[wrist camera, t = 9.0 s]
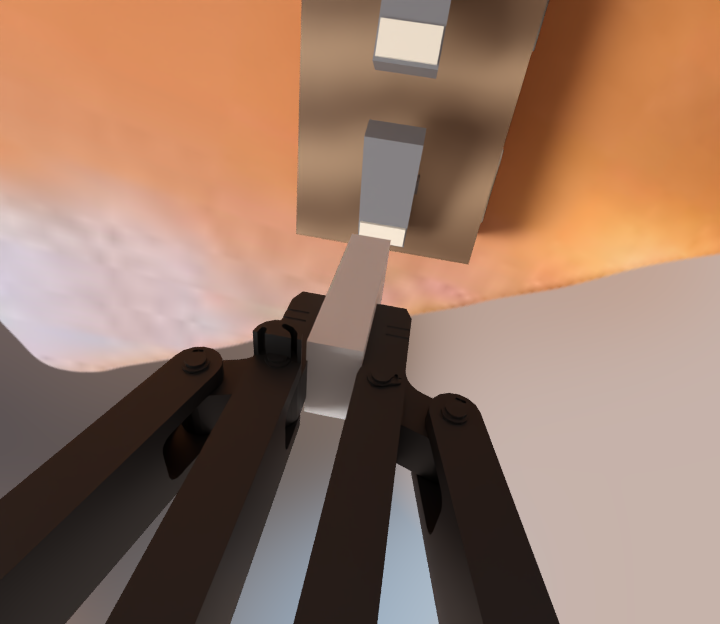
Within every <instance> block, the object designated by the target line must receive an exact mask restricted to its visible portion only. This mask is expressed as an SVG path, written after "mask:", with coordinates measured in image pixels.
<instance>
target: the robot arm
mask: <svg viewBox="0 0 720 624" xmlns="http://www.w3.org/2000/svg"><path fill="white" fill-rule="evenodd" d="M390 243H391V240H387V239H381V238H375V237H369V236H363V235H357V234H352V235H351V238H350V240H349V242H348V245H347V247H346V249H345V252H344V254H343V257H342V259H341V261H340V264H339V266H338V268H337V271H336V273H335V276H334V278H333V280H332V283H331V285H330V287H329V290H328V292H327V294H326V296H325V295H320V294H314V293H308V292H302V293H300V294H299V295H297V296H296V297H294V298H293V299H292V301H291V303H290V305H289V306H288V308H287V310H286V312H285V314H284V316H283V318H282V320H273V321H267V322H264V323H262V324H260V325H258V326H257V327H256V328H255V329H254V330H253V344H254V356H253V357H250V358H247V359H240V360H222V357H221V355H220V354H219V353H218V352H217V351H215V350H214V349H211V348H207V347H193V348H190V349H186V350H183V351H182V352H180V353H178V354H177V355H175V356H174V357H173V358H172V359H170V360H169V361H168V362H167V363H166V364H164V365H163V366H162V367H161V368H159V369H158V370H157V371H156V372H155V373H153V374H152V375H151V376H150V377H149V378H147V379H146V380H145V381H144V382H143V383H141V384H140V385H139V386H138V387H137V388H135V389H134V390H133V391H132V392H130V393H129V394H128V395H127V396H126V397H124V398H123V399H122V400H121V401H119V402H118V403H117V404H116V405H115V406H113V407H112V408H111V409H110V410H109V411H107V412H106V413H105V414H104V415H102V416H101V417H100V418H99V419H97V420H96V421H95V422H94V423H93V424H91V425H90V426H89V427H88V428H87V429H85V430H84V431H83V432H82V433H80V434H79V435H78V436H77V437H76V438H74V439H73V440H72V441H71V442H70V443H68V444H67V445H66V446H65V447H63V448H62V449H61V450H60V451H59V452H58V453H56V454H55V455H54V456H53V457H51V458H50V459H49V460H48V461H46V462H45V463H44V464H43V465H42V466H40V467H39V468H38V469H37V470H36V471H34V472H33V473H32V474H31V475H29V476H28V477H27V478H26V479H24V480H23V481H22V482H21V483H20V484H18V485H17V486H16V487H15V488H14V489H12V490H11V491H10V492H9V493H7V494H6V495H5V496H4V497H3V498H1V499H0V624H65V623H66V622H67V621H68V620H69V619H70V617H71V616H72V615H73V614H74V613H75V612H76V610H77V609H78V608H79V607H80V606H81V604H82V603H83V602H84V601H85V600H86V599H87V598H88V597H89V595H90V594H91V593H92V592H93V591H94V590H95V588H96V587H97V586H98V585H99V584H100V582H101V581H102V580H103V579H104V578H105V577H106V576H107V574H108V573H109V572H110V571H111V570H112V568H113V567H114V566H115V565H116V564H117V563H118V561H119V560H120V559H121V558H122V557H123V555H125V553H126V552H127V551H128V550H129V549H130V548H131V546H132V545H133V544H134V543H135V542H136V541H137V539H138V538H139V537H140V536H141V535H142V534H143V532H144V531H145V530H146V529H147V528H148V526H149V525H150V524H151V523H152V522H153V521H154V519H155V518H156V517H157V516H158V515H159V514H160V513H161V511H162V510H163V509H164V508H165V507H166V505H167V504H168V503H169V502H170V501H171V500H172V499H173V497H174V496H175V495H176V494H177V495H176V497H175V498H174V500H173V502H172V504H171V506H170V508H169V509H168V511H167V513H166V515H165V517H164V518H163V520H162V522H161V524H160V526H159V528H158V529H157V531H156V533H155V535H154V537H153V538H152V540H151V542H150V544H149V546H148V547H147V549H146V551H145V553H144V555H143V556H142V559H141V560H140V562H139V564H138V565H137V567H136V569H135V571H134V573H133V575H132V577H131V578H130V580H129V582H128V584H127V586H126V587H125V589H124V591H123V593H122V594H121V596H120V598H119V600H118V602H117V604H116V605H115V607H114V609H113V611H112V612H111V615H110V616H109V618H108V620H107V621H106V623H105V624H230V623H231V620H232V617H233V614H234V612H235V609H236V606H237V603H238V600H239V597H240V594H241V592H242V588H243V586H244V583H245V580H246V577H247V574H248V572H249V569H250V566H251V563H252V560H253V557H254V554H255V552H256V549H257V546H258V543H259V540H260V537H261V534H262V532H263V528H264V526H265V523H266V520H267V517H268V514H269V512H270V509H271V506H272V503H273V500H274V497H275V495H276V491H277V489H278V486H279V483H280V480H281V477H282V475H283V472H284V469H285V466H286V463H287V460H288V457H289V455H290V452H291V449H292V446H293V443H294V440H295V437H296V435H297V432H298V429H299V425H300V413H301V410H302V407H303V404H304V402H305V404H304V406H305V407H304V411H306V412H311V413H315V414H320V415H325V416H330V417H335V418H340V419H345V422H344V426H343V430H342V434H341V438H340V442H339V446H338V450H337V454H336V458H335V462H334V466H333V470H332V473H331V478H330V481H329V486H328V489H327V493H326V497H325V502H324V505H323V509H322V513H321V517H320V521H319V525H318V529H317V533H316V537H315V541H314V545H313V548H312V552H311V556H310V560H309V564H308V569H307V572H306V576H305V580H304V584H303V588H302V592H301V596H300V600H299V604H298V608H297V612H296V616H295V620H294V623H293V624H377V620H378V612H379V603H380V594H381V587H382V578H383V570H384V561H385V553H386V544H387V536H388V527H389V519H390V510H391V501H392V493H393V484H394V476H395V468H396V463H397V464H399V465H401V466H403V467H405V468H407V469H408V470H410V471H411V475H412V480H413V486H414V491H415V497H416V502H417V507H418V513H419V518H420V524H421V529H422V534H423V540H424V545H425V550H426V556H427V562H428V567H429V572H430V578H431V583H432V588H433V594H434V600H435V605H436V610H437V616H438V621H439V624H559V621H558V618H557V616H556V613H555V610H554V608H553V605H552V602H551V600H550V597H549V594H548V592H547V589H546V586H545V584H544V581H543V578H542V576H541V573H540V570H539V568H538V565H537V562H536V560H535V557H534V554H533V552H532V549H531V546H530V544H529V541H528V538H527V536H526V533H525V530H524V528H523V525H522V522H521V520H520V517H519V514H518V512H517V509H516V506H515V504H514V501H513V498H512V496H511V493H510V490H509V488H508V485H507V483H506V480H505V477H504V474H503V472H502V469H501V466H500V464H499V461H498V458H497V456H496V453H495V450H494V448H493V445H492V442H491V440H490V437H489V434H488V432H487V429H486V426H485V424H484V421H483V418H482V416H481V413H480V411H479V410H478V408H477V406H476V405H475V404H473V403H472V402H471V401H470V400H469V399H467V398H465V397H463V396H461V395H458V394H451V393H446V394H440V395H438V396H436V397H434V398H430V397H429V396H426V395H424V394H422V393H421V392H419V391H417V390H416V389H415V388H414V387H413V386H412V385H411V384H410V383H409V381H408V380H407V377H406V371H405V370H406V362H407V353H408V345H409V336H410V328H411V317H410V315H409V313H408V311H407V309H404V308H398V307H393V306H387V305H381V300H382V293H383V287H384V281H385V274H386V268H387V262H388V255H389V249H390Z"/></svg>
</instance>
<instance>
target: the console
mask: <svg viewBox="0 0 720 624" xmlns="http://www.w3.org/2000/svg"><path fill="white" fill-rule="evenodd" d="M381 1H382V0H302V10H301V52H300V94H299V137H298V179H297V221H296V234H299V235H304V236H310V237H316V238H321V239H327V240H333V241H339V242H344V243H348V242H349V240H350V238H351V235H352V234H357V235H358V227H359V211H360V195H361V179H362V163H363V147H364V135H365V132H366V129H367V126H368V122H369V119H371V120H377V121H384V122H390V123H396V124H403V125H409V126H416V127H422V128H426V134H425V140H424V145H423V150H422V156H421V161H420V166H419V171H418V176H417V181H416V186H415V191H414V197H413V202H412V207H411V212H410V217H409V222H408V227H407V232H406V237H405V243H404V247H398V246H392V245H390V249H389V250H390V251H395V252H401V253H407V254H412V255H418V256H424V257H429V258H435V259H441V260H446V261H452V262H458V263H463V264H468V263H469V260H470V257H471V253H472V250H473V247H474V243H475V240H476V237H477V233H478V230H479V227H480V223H481V222H482V221H483V218H484V215H485V211H486V208H487V205H488V201H489V198H490V195H491V191H492V188H493V185H494V181H495V178H496V175H497V171H498V168H499V165H500V162H501V158H502V155H503V152H504V150H503V147H504V143H505V140H506V137H507V133H508V130H509V127H510V123H511V120H512V117H513V113H514V110H515V107H516V103H517V100H518V97H519V93H520V90H521V87H522V83H523V80H524V77H525V73H526V70H527V67H528V63H529V60H530V57H531V53H532V51H534V49H535V46H536V42H537V39H538V36H539V32H540V29H541V26H542V22H543V19H544V16H545V12H546V9H547V6H548V3H549V0H451V4H450V9H449V14H448V20H447V25H446V30H445V35H444V41H443V46H442V51H441V57H440V62H439V67H438V72H437V77H436V79H434V78H427V77H421V76H414V75H407V74H401V73H394V72H387V71H380V70H375V68H374V64H373V61H372V60H373V54H374V47H375V40H376V34H377V27H378V20H379V14H380V7H381Z"/></svg>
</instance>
